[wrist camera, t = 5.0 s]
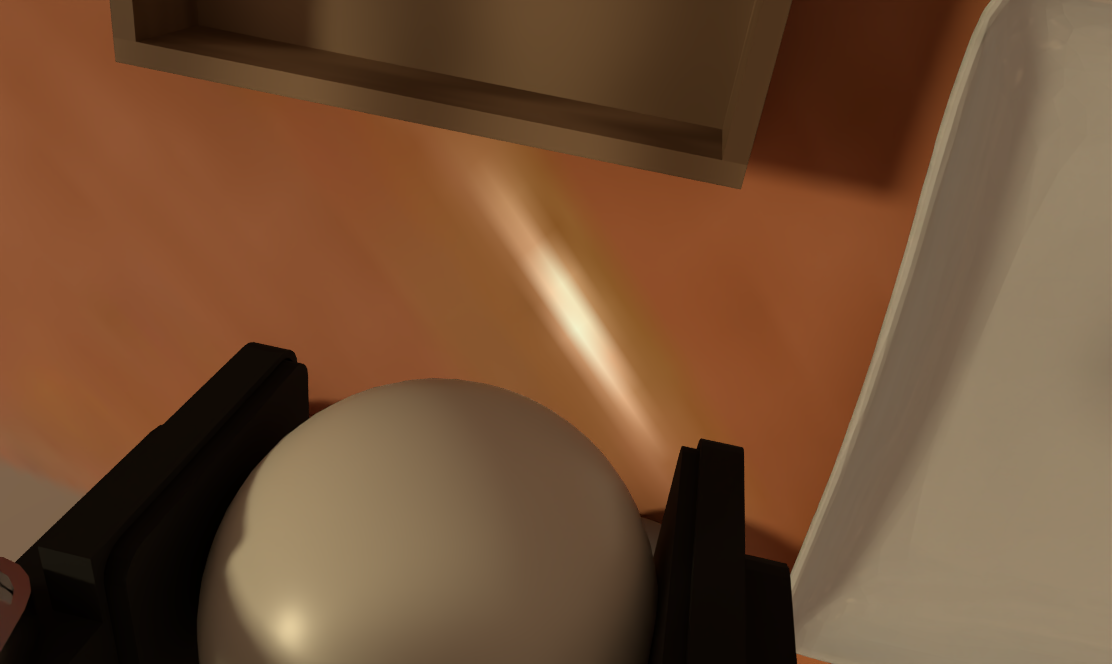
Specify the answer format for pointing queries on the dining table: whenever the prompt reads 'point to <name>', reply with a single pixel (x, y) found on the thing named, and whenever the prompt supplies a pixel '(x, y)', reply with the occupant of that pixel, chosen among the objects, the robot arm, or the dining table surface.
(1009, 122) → the salad plate
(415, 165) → the dining table surface
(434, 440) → the cream ball
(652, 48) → the tray
